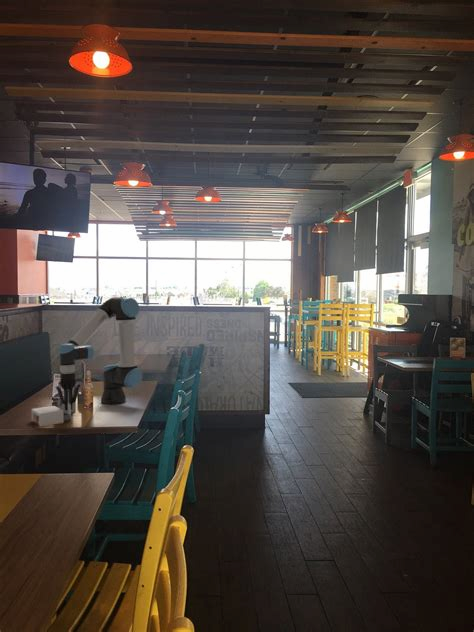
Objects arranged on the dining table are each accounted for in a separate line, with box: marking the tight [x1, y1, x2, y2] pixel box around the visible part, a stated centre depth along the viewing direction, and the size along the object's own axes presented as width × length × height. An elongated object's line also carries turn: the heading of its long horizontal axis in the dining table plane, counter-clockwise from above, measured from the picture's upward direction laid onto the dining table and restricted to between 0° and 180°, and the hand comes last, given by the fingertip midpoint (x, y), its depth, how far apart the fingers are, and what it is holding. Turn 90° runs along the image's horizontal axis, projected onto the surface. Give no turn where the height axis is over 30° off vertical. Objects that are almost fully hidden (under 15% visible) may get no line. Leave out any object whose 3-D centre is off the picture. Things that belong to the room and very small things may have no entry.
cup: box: [57, 394, 77, 414], centre depth 296 cm, size 7×10×9 cm
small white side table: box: [31, 405, 65, 427], centre depth 274 cm, size 12×14×6 cm
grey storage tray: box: [38, 412, 72, 422], centre depth 276 cm, size 14×10×3 cm
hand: (68, 416), depth 281 cm, fingers closed
